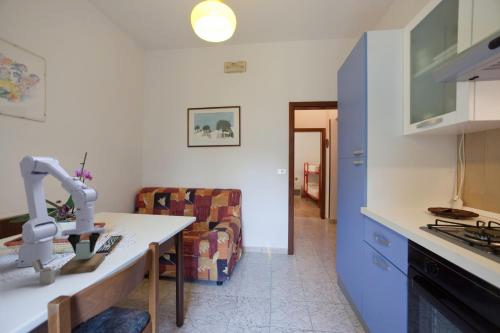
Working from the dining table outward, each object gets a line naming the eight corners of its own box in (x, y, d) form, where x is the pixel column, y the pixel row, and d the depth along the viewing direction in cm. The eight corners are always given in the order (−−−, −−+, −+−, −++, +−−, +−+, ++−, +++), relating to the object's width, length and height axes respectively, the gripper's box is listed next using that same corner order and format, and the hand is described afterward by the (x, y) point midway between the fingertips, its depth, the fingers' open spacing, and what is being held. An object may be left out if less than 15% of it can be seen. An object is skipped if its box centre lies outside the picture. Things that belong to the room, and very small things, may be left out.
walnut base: (59, 276, 77) (59, 268, 77) (74, 262, 87) (74, 255, 87) (94, 272, 80) (94, 264, 80) (105, 259, 91) (105, 252, 91)
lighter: (55, 281, 72) (55, 258, 72) (50, 284, 71) (50, 261, 71) (36, 280, 73) (36, 258, 73) (30, 283, 71) (31, 260, 71)
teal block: (75, 259, 81) (76, 244, 82) (81, 255, 86) (81, 240, 86) (89, 258, 83) (89, 243, 83) (93, 254, 87) (94, 239, 87)
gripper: (57, 222, 78) (56, 258, 78) (102, 220, 82) (101, 254, 82) (67, 217, 84) (66, 251, 85) (108, 215, 89) (108, 247, 89)
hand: (84, 252), depth 84 cm, fingers closed on teal block, 4 cm apart
